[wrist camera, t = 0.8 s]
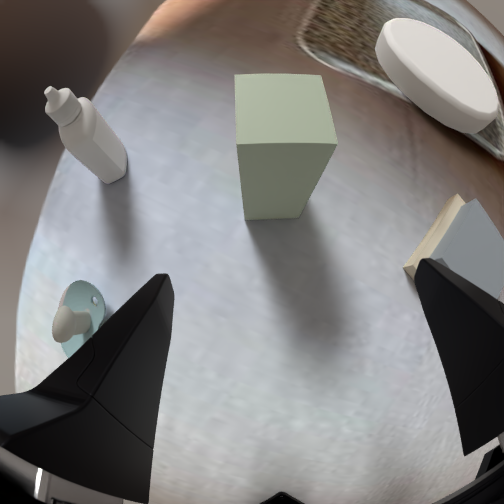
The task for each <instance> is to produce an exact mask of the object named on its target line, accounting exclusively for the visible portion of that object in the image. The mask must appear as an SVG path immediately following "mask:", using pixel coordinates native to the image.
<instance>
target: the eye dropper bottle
mask: <svg viewBox="0 0 504 504" xmlns="http://www.w3.org/2000/svg"><path fill="white" fill-rule="evenodd" d="M44 93H45V95H46V97H47V99H48V102H47V104H46V107H45V112H46V113H47V114H48V115H49V116H50V117H51V118H52V119H53V120H54V121H55V122H56V123H57V124H58V125H59V133H60V137H61V140H62V142H63V144H64V146H65V147H66V149H67V150H68V151H69V152H70V153H71V154H72V155H73V156H74V157H75V158H76V159H77V160H79V161H80V162H81V163H82V164H83V165H84V166H85V167H87V168H88V169H89V170H90V171H91V172H92V173H94V174H95V175H96V176H97V177H98V178H99V179H101V180H102V181H103V182H104V183H106V184H110V183H112V182H114V181H116V180H118V179H120V178H122V177H123V176H124V175H125V172H126V167H127V155H126V150H125V147H124V145H123V143H122V142H121V140H120V139H119V137H118V136H117V135H116V134H115V132H114V131H113V130H112V128H111V127H110V126H109V125H108V123H107V122H106V121H105V119H104V118H103V117H102V116H101V114H100V113H99V112H98V110H97V109H96V108H95V107H94V105H93V104H92V103H91V102H90V101H89V100H88V99H87V98H84V97H81V98H78V99H77V98H76V97H75V95H74V94H73V93H72V92H71V91H70V89H68V88H64V89H61V90H59V91H57V90H56V89H54V88H53V87H51V86H50V87H48V88H47V89H46V90H45V92H44Z"/></svg>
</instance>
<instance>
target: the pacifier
mask: <svg viewBox="0 0 504 504" xmlns="http://www.w3.org/2000/svg"><path fill="white" fill-rule="evenodd" d="M93 297H96V299H97V301H98V304H97V306H96V305H95V304H94V303H93V301H92V298H93ZM105 310H106V308H105V302H104V299H103V297H102V295H101V293H100V292H99V290H98V289H97V288H96V287H95V286H94V285H92V284H91V283H89V282H87V281H82V280H79V281H75V282H73V283H72V284H70V285H69V286H68V287H67V288H66V290H65V291H64V293H63V295H62V297H61V300H60V303H59V307H58V311H57V313H56V315H55V317H54V321H53V326H52V334H53V338H54V340H55V341H56V342H59V343H61V345H62V348H63V351H64V352H65V354H66V356H67V357H68V358H69V357H70V356H72V355H73V354H74V353H75V352H76V351H77V350H78V349H79V348H80V347H81V346H82V345H83V344H84V343H85V342H86V341H87V340H88V339H89V338H90V337H92V335H93V334H94V333H95V332H96V331H97V330H98V329H99V325H100V324H101V322H102V321H103V319H104V316H105Z"/></svg>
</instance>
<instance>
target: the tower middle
mask: <svg viewBox="0 0 504 504" xmlns="http://www.w3.org/2000/svg"><path fill="white" fill-rule="evenodd" d="M429 258H432V259H433V260H435V261H437V262H439V263H440V264H442V265H444V266H445V267H447V268H449V269H450V270H452V271H454V272H455V273H457V274H459V275H460V276H462V277H463V278H465V279H467V280H468V281H470V282H471V283H473V284H475V285H476V286H478V287H479V288H481V289H482V290H484V291H485V292H487V293H488V294H490V295H491V296H493V297H494V298H496V299H498V297H499V295H500V293H501V290H502V288H503V286H504V240H503V238H502V236H501V235H500V233H499V232H498V230H497V228H496V227H495V225H494V224H493V222H492V221H491V219H490V218H489V216H488V215H487V213H486V212H485V210H484V209H483V207H482V206H481V205H480V203H479V202H478V200H477V199H474V200H472V201H470V202H468V203H466V204H464V205H463V206H461V208H460V209H459V211H458V213H457V214H456V216H455V218H454V220H453V221H452V223H451V224H450V226H449V228H448V229H447V231H446V233H445V234H444V236H443V237H442V239H441V240H440V242H439V243H438V245H437V246H436V248H435V249H434V251H433V252H432V254H431V255H430V257H429Z"/></svg>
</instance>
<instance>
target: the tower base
mask: <svg viewBox="0 0 504 504" xmlns="http://www.w3.org/2000/svg"><path fill="white" fill-rule="evenodd" d="M464 204H466V203H465V202H464V201H463V200H462V198H461V197H460V196H459V195H458V194H456V195H455V196H453V197H451V198H449V199H448V200H447V202H446V203H445V205H444V207H443V208H442V210H441V212H440V213H439V215H438V217H437V218H436V220H435V221H434V223H433V224H432V226H431V228H430V229H429V231H428V232H427V234H426V235H425V237H424V238H423V240H422V241H421V243H420V244H419V245H418V247H417V248H416V250H415V251H414V253H413V254H412V255H411V257H410V258H409V260H408V261H407V262H406V264H405V265H404V267H403V268H404V269H405V271H406V272H407V273H408V274H409V275H410V276H411V278H412V279H413V280H414V275H415V272H416V270H417V267H418V264H419V261H420V260H421V259H422V258H429V257H430V255H431V254H432V252H433V251H434V249H435V248H436V246H437V245H438V243H439V242H440V240H441V239H442V237H443V236H444V234H445V233H446V231H447V229H448V228H449V226H450V224H451V223H452V221H453V220H454V218H455V216H456V214H457V213H458V211H459V209H460V208H461V206H463V205H464Z"/></svg>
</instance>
